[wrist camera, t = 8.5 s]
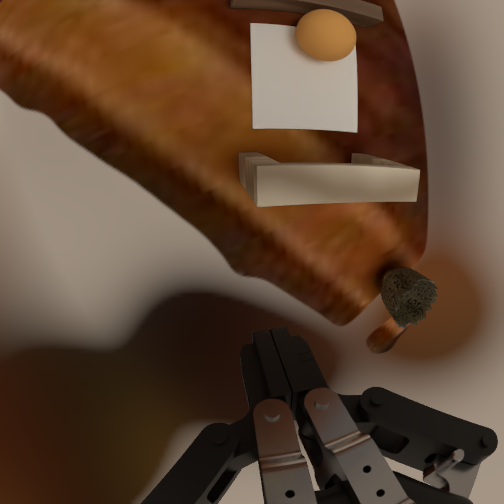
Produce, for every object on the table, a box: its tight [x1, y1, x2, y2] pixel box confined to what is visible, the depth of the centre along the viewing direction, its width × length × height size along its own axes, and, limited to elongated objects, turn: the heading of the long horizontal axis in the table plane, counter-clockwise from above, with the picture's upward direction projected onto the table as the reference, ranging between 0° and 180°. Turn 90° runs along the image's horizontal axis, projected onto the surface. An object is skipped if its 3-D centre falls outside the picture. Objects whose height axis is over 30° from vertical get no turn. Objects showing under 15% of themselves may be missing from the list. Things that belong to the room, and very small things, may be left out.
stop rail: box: [230, 0, 383, 28], centre depth 19 cm, size 2×16×4 cm, turn 91°
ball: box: [296, 9, 356, 61], centre depth 20 cm, size 6×6×6 cm
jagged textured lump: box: [380, 267, 437, 329], centre depth 35 cm, size 7×7×8 cm
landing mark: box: [250, 23, 357, 132], centre depth 25 cm, size 12×12×1 cm
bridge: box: [239, 152, 420, 207], centre depth 25 cm, size 3×15×10 cm, turn 91°
